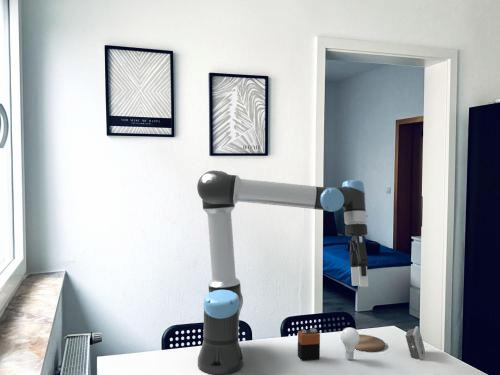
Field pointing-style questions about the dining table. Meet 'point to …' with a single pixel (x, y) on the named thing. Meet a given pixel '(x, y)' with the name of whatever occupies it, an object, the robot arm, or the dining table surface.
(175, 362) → the dining table surface
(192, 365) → the dining table surface
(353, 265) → the robot arm
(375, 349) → the board
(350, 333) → the lightbulb
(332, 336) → the dining table surface
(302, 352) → the battery
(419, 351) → the electrical switch
